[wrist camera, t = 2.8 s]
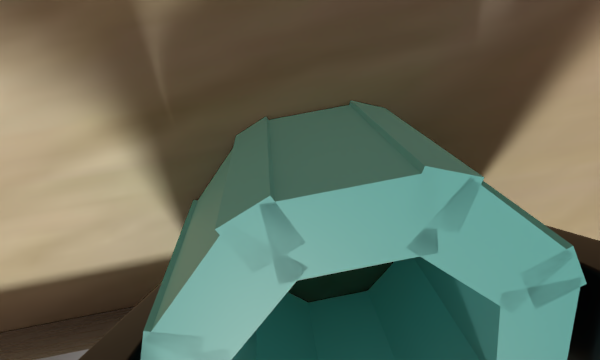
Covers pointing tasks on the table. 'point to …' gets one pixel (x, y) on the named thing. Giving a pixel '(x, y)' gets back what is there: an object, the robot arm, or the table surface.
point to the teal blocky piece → (360, 253)
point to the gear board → (58, 337)
